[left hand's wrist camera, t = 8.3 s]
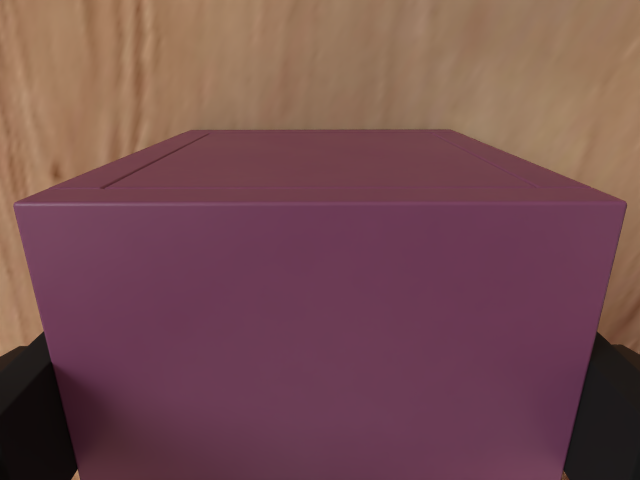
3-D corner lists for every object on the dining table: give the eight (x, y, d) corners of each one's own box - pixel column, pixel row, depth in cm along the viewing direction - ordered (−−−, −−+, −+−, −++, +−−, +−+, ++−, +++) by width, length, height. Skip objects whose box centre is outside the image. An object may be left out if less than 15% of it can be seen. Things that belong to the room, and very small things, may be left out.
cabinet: (420, 456, 23) (497, 750, 13) (221, 455, 23) (144, 749, 13) (451, 129, 18) (629, 201, 7) (189, 130, 18) (10, 202, 7)
